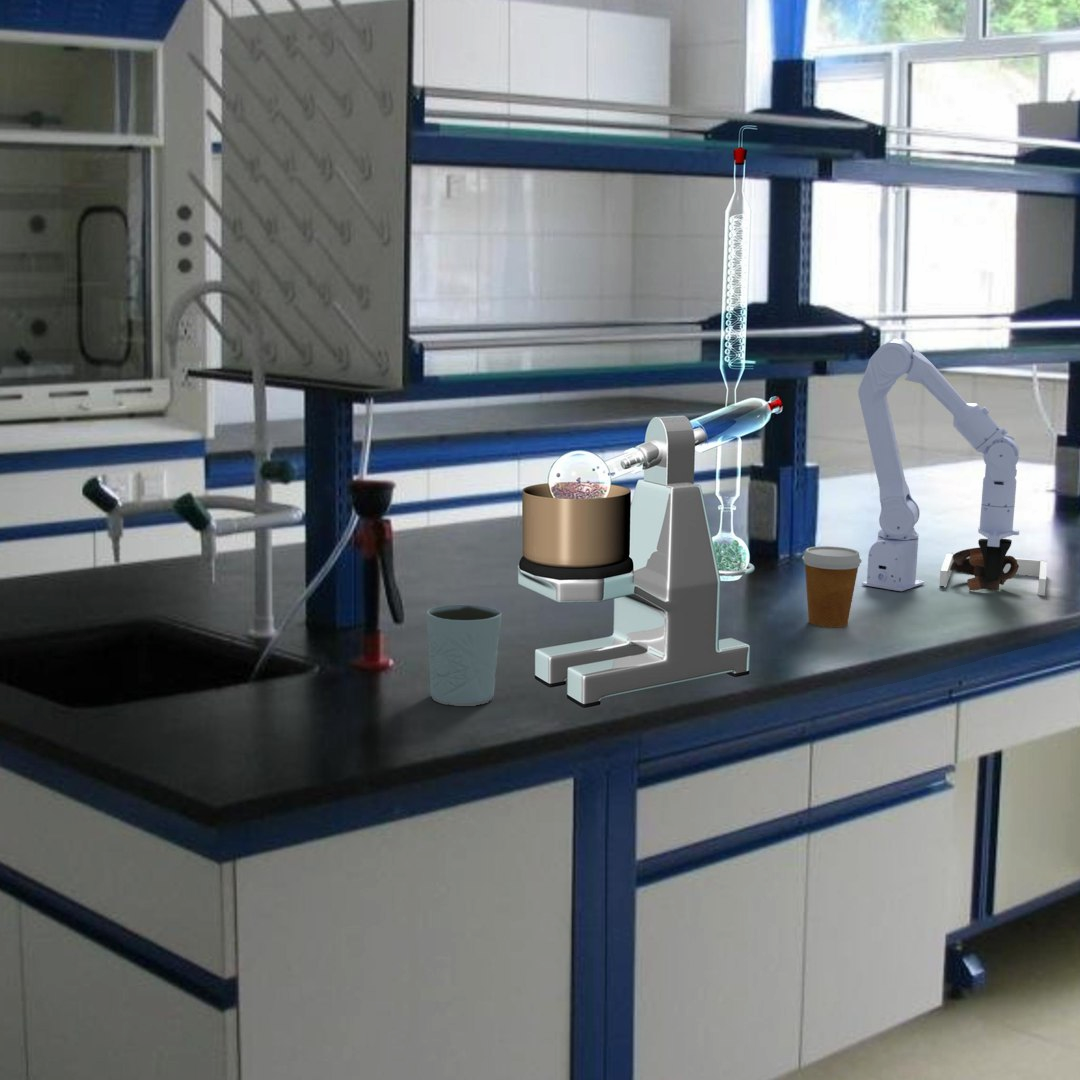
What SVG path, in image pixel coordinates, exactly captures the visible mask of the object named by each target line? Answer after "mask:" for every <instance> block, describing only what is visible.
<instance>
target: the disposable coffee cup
mask: <svg viewBox="0 0 1080 1080" xmlns="http://www.w3.org/2000/svg"><path fill="white" fill-rule="evenodd" d="M801 559H802V561H803V564H804V569H805V586H806V598H807V599H806V600H807V611H808V613H807V614H808V615H807V616H808V623H809V624H810V623H811V624H810V625H812V626H816V625H817V626H816V627H820V626H822V628H833V627H836V628H842V626H843V627H847V625H848V623H849V619H850V618H849V617H850V613H851V608H852V603H853V597H854V590H855V585H856V581H857V576H858V575H857V574H858V570H859V567H860V566H861V565H860V564H861V563H862V562H863V561H862V559H861V558H860V553H859V551H858V550H856V549H852V548H848V547H843V546H842V547H840V546H829V545H828V546H827V545H825V546H821V545H819V546H810V547H807V548H805V552H804V555H802V558H801Z"/></svg>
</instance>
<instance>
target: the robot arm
mask: <svg viewBox="0 0 1080 1080" xmlns="http://www.w3.org/2000/svg"><path fill="white" fill-rule="evenodd" d="M904 374H907V375H906V377H905V378H904V380H905V381H908V382H913V383H916V384H920V385H922V386H923V387H924V388H925V389H926V390H927V391H928V392H929V393H930V394H931V395H932V396H933V397H934V398H935V399H936V400H937V401H939V403H940V404H941V405H942V406H943V407H945V409H947V410H948V412H949V413H951V415H952V416H953V422H952V426H953V428H954V429H956V431H957V432H958V433H959V434H960V435H961V436H962V437H963V438H964V440H966V441H967V443H968V444H970V445H971V447H972V448H973V449H974V450H975V451H976V452H978V453H981V454H983V455H982V457H983V462H984V464H985V469H984V470H985V471H984V477H983V479H982V493H981V505H980V517H979V520H980V521H979V527H977V528H978V530H977V533H978V534H980V535H981V536H983V537H985V538H980V539H978V543H977V544H978V546H979V547H980V549H981V552H982V555H983V559H984V568H985V576H986V580H994V581H998V579H999V576H1000V573H1001V569H1002V564H1003V561H1004V558H1005V556H1007V553H1008V551H1009V550H1010V548H1011V547H1012V543H1013V541H1012V539H1009V538H1010V537H1012V536H1019V535H1020V529H1014V515H1015V503H1016V491H1017V479H1016V477H1017V472H1018V471H1017V464H1018V462H1019V458H1020V457H1019V456H1020V449H1019V445H1018V444H1017V442H1016V441H1015V438H1014V437H1013V436H1010V435H1009V434H1008V430H1007V429H1006V428H1002V427H1001V426H999V425H998V424H997V422H995V420H994V419H992V418H991V416H990V415H989V414H990V410H989V409H988V408H987V407H986V406H983V407H981V406H980V405H979V404H978V403H969V402H966V400H965V399H964V398H963V397H962V396H961V395H960V393H958V391H957V390H956V389H955V388H954V387H953V385H951V384H950V382H949V381H948V380H947V379H946V377H945V376H944V375H943V374H942V373H941V372H940V370H939V369H937V367H936V366H935V365H934V364H933V363H932V362H931V361H930V360H929V359H928V358H927V357H925V355H924V354H923V353H921V352H920V351H918V350H915V348H914V347H913V345H912V343H910V342H908V341H907V340H905V339H902V338H893V339H891V340H889V341H887V342H885V343H883V344H882V345H881V346H879V348H877V350H876V351H875V352H874V353H873V354H872V356H870V358H869V360H868V363H867V366H866V369H865V372H864V375H863V376H862V379H861V382H860V384H859V387H858V391H857V392H858V393H857V394H858V400H859V403H860V409H861V412H862V417H863V421H864V426H865V430H866V435H867V439H868V443H869V448H870V453H871V456H872V461H873V466H874V470H875V473H876V478H877V482H878V483H877V484H878V488H879V503H880V507H881V509H880V514H879V518H878V521H879V523H878V524H879V527H880V529H878V532H877V540H876V542H875V543H874V544H872V546H870V549H869V550H868V557H867V570H866V571H867V572H866V573H867V574H866V581H863V582H861V585H862V586H866V587H867V586H868V587H874V588H879V589H885V590H891V591H896V592H903V591H906V590H909V589H912V588H915V587H919V586H922V585H924V584H925V581H924V580H921V579H920V580H919V579H917V565H918V551H919V533H917V531H916V530H915V528H914V527H915V525H916V524H917V523H918V521H919V519H920V508H919V505H918V504H917V503H916V501H915V500H914V499H913V498H912V495H911V491H910V489H909V488H910V487H909V485H908V484H907V481H906V477H905V473H904V468H903V465H902V461H901V455H900V451H899V446H898V442H897V437H896V434H895V428H894V423H893V420H892V415H891V410H890V406H889V402H888V397H887V396H888V394H889V392H890V391H891V389H892V388H893V387H894V385H895V383H896V381H898V380H899V379H900V378H901V377H902V376H903V375H904ZM979 547H978V548H979Z"/></svg>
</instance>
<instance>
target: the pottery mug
mask: <svg viewBox="0 0 1080 1080" xmlns="http://www.w3.org/2000/svg"><path fill="white" fill-rule="evenodd" d="M954 553H955V554H954V555H953V560H954V562H953V563H952V565H951V568H950V570H952V571H955V572H957V573H963V574H966V575H970V576H974V577H972V578H968V579H967V584H968V589H969V591H970V590H973V591H980V590H989V591H991V590H993V591H997V590H998V591H999V590H1000V585H1001V586H1004V585H1005V582H1007V580H1011V579H1013V578H1014V576H1015V574H1016V572H1017V570H1018V568H1019V565H1018V564H1017V560H1016V559H1015V558H1016V557H1014V556H1013V555H1005V558H1004V561H1003V564H1002V569H1001V573H1000V576H999V579H998V581H994V580H986V576H985V568H984V559H983V555H982V552H981V549H980V547H972V548H967V549H962V550H960V551H957V552H954ZM969 556H970V558H968V557H969ZM966 558H967V559H966ZM1006 564H1010V565H1011V567H1010V569H1009V571H1008V572H1007V573H1004V571H1003V569H1004V567H1005V565H1006Z"/></svg>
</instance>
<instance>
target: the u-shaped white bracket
mask: <svg viewBox="0 0 1080 1080" xmlns="http://www.w3.org/2000/svg"><path fill="white" fill-rule="evenodd" d="M955 553H956V552H946V555H945V558H944V560H943V562H942V565H941V569H940V574H939V575H940V576H939V586H946V587H947V586H948V583H949V581H950V577H951V575H952V572H953V570H950V568H951V565H952V563H953V562H954V560H953V555H954V554H955ZM968 558H970V556H969V557H968ZM1014 558H1015V559H1016V560H1017V564H1018V565H1019V568H1018V570H1017V572H1016V574H1019V575H1018V576H1025V575H1028V576H1027V577H1038V588H1037V589H1038V590H1037V596H1046V586H1047V585H1046V584H1047V571H1048V570H1047V569H1048V560H1047V559H1034V558H1024V557H1023V558H1022V557H1014ZM966 559H967V558H966ZM1010 567H1011V565H1010V564H1006V565H1005V567H1004V569H1003V571H1004V573H1007V572H1008V571H1009V569H1010ZM949 576H950V577H949Z"/></svg>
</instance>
